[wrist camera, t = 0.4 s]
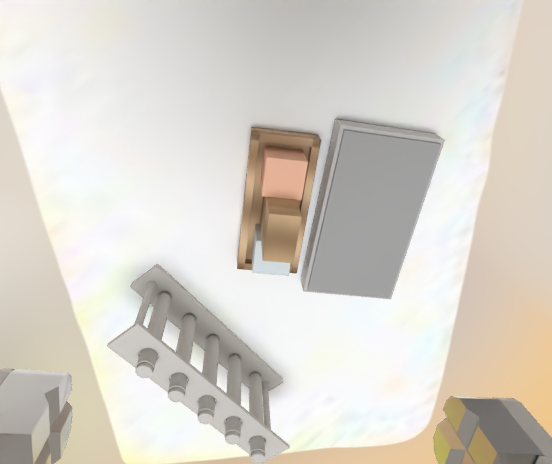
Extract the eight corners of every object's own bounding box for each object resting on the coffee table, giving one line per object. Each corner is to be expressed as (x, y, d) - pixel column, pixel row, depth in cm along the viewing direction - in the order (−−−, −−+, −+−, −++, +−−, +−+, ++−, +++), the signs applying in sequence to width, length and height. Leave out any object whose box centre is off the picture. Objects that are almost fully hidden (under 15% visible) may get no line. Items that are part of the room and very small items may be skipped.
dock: (335, 119, 44) (341, 125, 41) (434, 133, 45) (446, 141, 43) (300, 279, 53) (303, 293, 50) (384, 287, 54) (391, 301, 52)
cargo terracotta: (264, 145, 44) (266, 157, 40) (302, 150, 44) (308, 161, 41) (260, 182, 45) (261, 196, 42) (296, 185, 46) (301, 200, 42)
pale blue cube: (255, 223, 48) (256, 240, 44) (290, 226, 48) (294, 243, 45) (251, 254, 49) (252, 272, 46) (285, 257, 50) (288, 275, 46)
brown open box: (251, 126, 44) (253, 152, 36) (317, 133, 45) (334, 161, 37) (237, 257, 51) (236, 305, 43) (294, 262, 52) (304, 310, 44)
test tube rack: (131, 283, 52) (98, 362, 40) (158, 263, 51) (132, 338, 39) (258, 392, 62) (262, 481, 50) (282, 378, 61) (292, 465, 49)
